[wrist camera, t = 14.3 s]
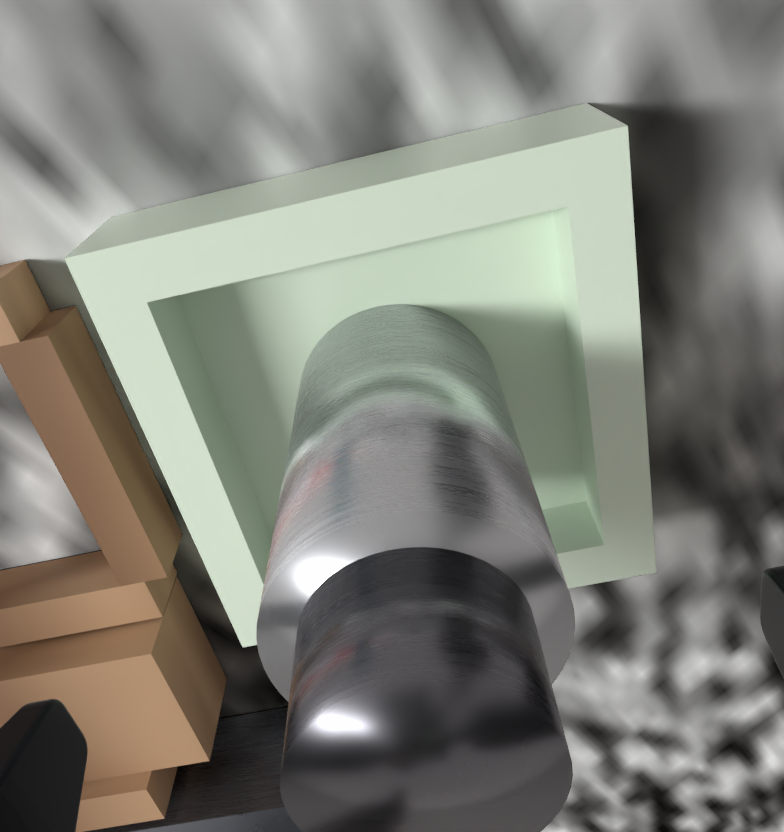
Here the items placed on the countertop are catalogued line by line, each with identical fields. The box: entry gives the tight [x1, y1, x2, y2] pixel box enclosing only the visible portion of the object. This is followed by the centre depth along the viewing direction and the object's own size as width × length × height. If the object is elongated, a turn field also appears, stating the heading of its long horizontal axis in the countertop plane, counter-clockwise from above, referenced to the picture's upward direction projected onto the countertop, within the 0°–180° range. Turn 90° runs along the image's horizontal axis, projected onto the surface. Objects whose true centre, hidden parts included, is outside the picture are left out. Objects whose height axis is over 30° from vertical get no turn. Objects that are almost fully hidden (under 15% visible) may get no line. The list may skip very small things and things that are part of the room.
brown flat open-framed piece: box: [0, 260, 227, 832], centre depth 18 cm, size 8×18×3 cm, turn 13°
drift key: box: [84, 707, 302, 832], centre depth 21 cm, size 11×3×3 cm, turn 103°
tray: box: [64, 103, 656, 648], centre depth 15 cm, size 9×9×2 cm
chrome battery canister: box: [256, 304, 575, 832], centre depth 11 cm, size 4×4×8 cm
